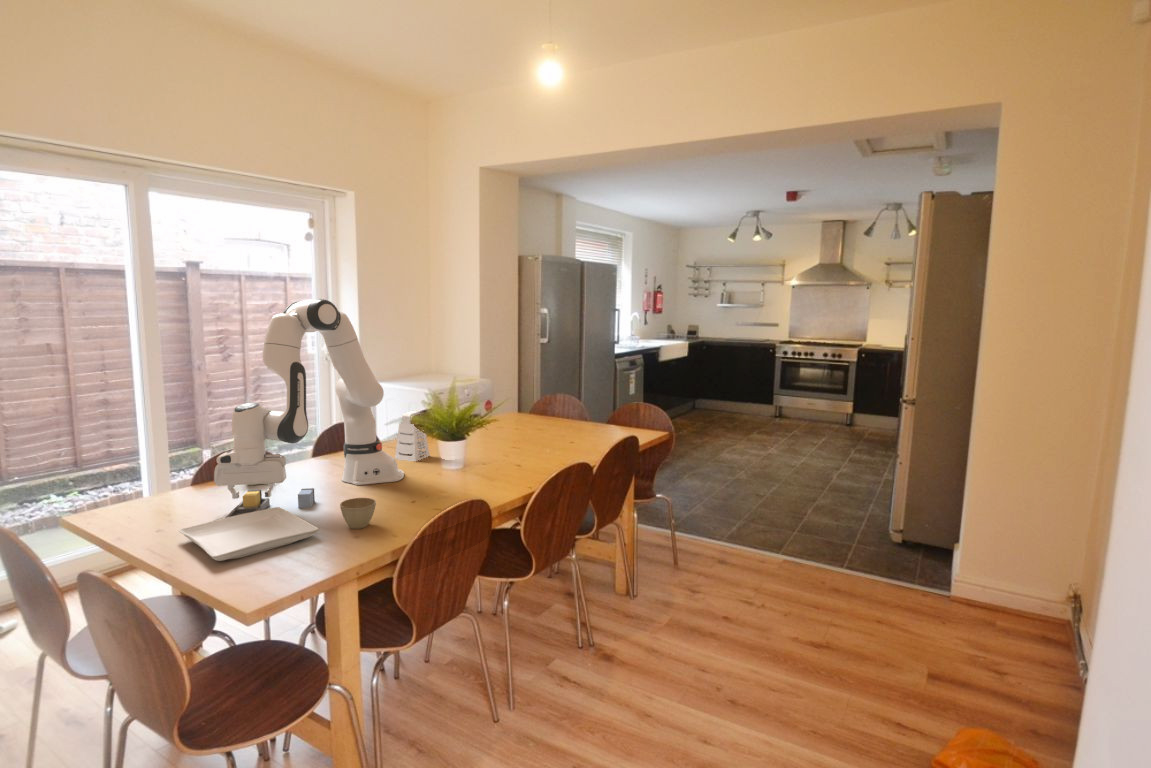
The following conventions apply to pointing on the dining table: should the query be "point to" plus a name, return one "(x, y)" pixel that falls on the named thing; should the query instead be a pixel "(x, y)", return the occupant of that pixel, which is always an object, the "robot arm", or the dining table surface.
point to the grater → (410, 440)
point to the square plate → (249, 533)
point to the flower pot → (358, 511)
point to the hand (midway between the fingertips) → (252, 497)
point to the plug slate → (306, 498)
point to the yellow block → (252, 498)
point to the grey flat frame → (248, 508)
